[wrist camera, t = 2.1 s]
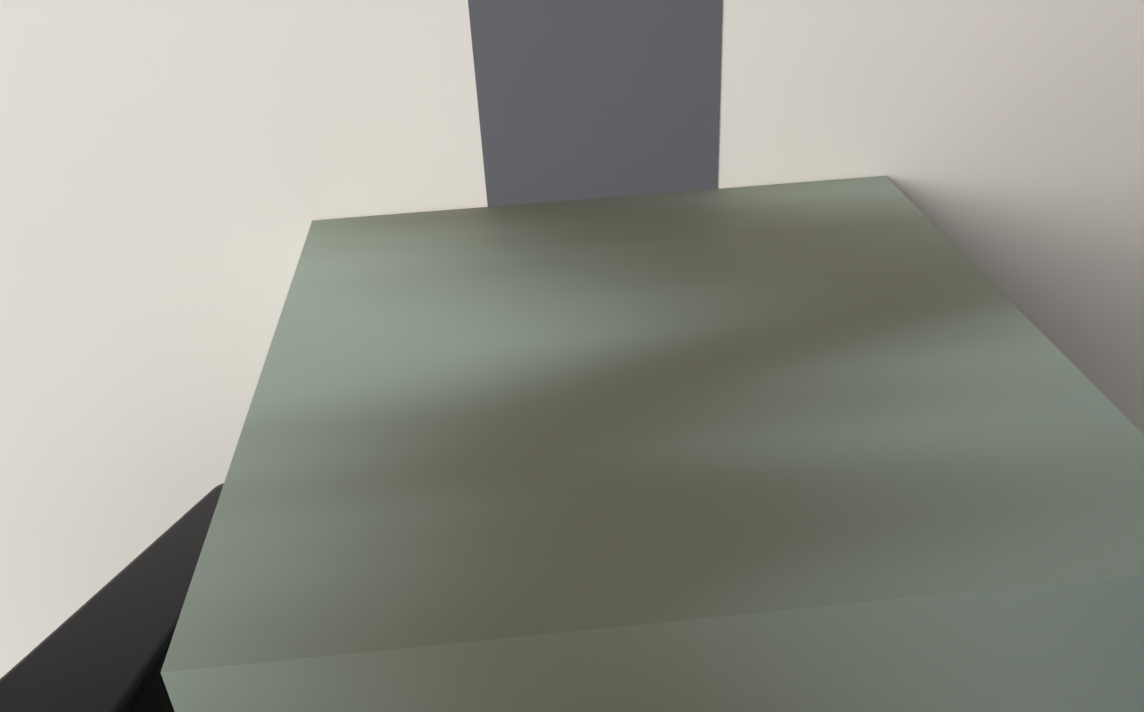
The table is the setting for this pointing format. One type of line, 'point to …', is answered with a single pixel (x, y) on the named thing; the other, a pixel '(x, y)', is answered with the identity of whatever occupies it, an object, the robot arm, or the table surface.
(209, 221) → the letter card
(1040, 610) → the sage block
